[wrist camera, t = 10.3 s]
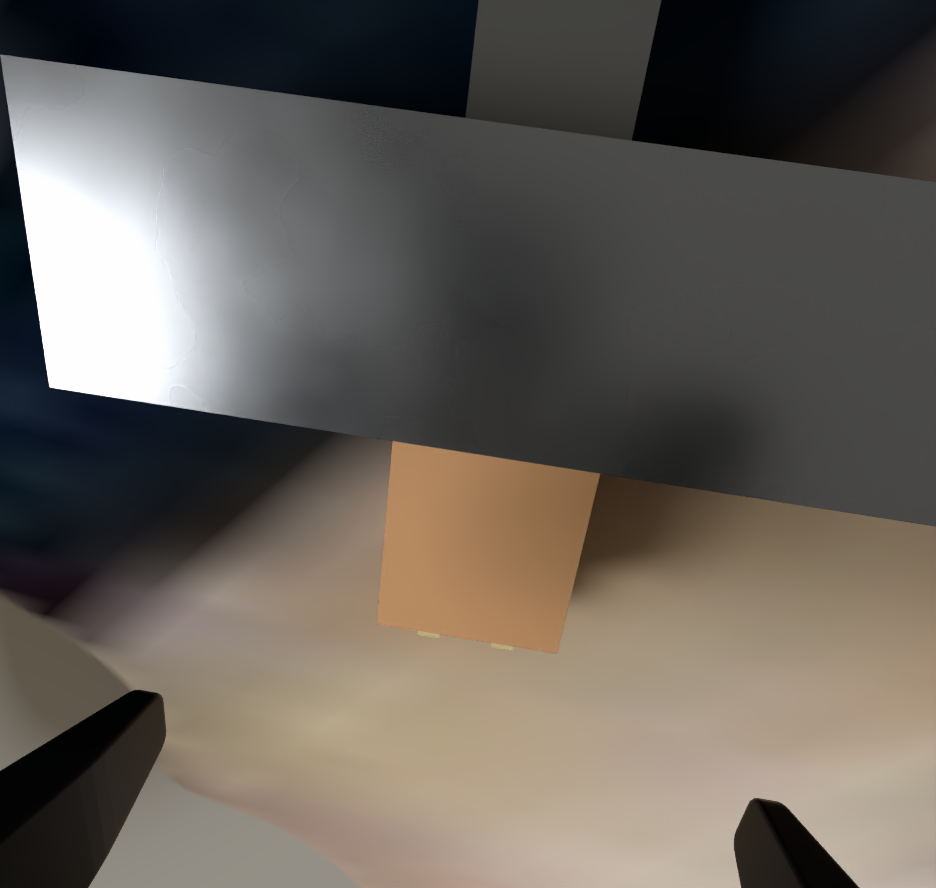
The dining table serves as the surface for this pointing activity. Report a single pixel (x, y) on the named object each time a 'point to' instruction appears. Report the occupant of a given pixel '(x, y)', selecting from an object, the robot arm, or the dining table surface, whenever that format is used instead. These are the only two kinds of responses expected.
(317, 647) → the dining table surface
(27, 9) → the dining table surface
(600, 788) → the dining table surface
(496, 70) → the plug
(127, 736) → the robot arm
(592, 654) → the dining table surface
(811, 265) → the housing
